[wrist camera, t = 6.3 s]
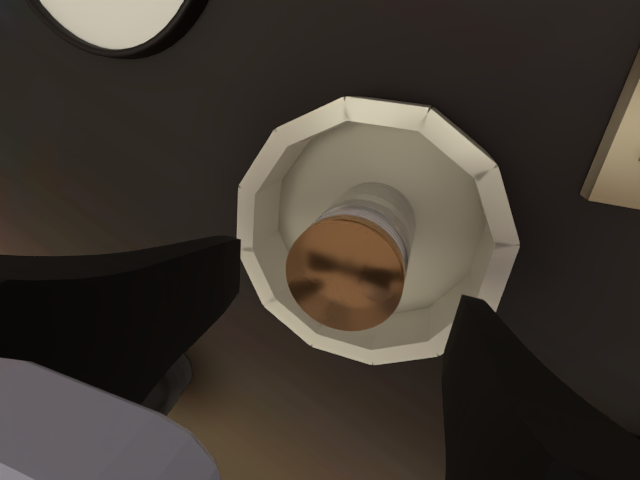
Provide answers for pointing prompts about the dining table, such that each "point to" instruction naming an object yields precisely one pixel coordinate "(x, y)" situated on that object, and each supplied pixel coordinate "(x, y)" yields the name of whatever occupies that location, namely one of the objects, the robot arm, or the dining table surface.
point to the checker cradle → (619, 151)
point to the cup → (419, 189)
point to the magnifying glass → (119, 24)
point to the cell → (354, 258)
